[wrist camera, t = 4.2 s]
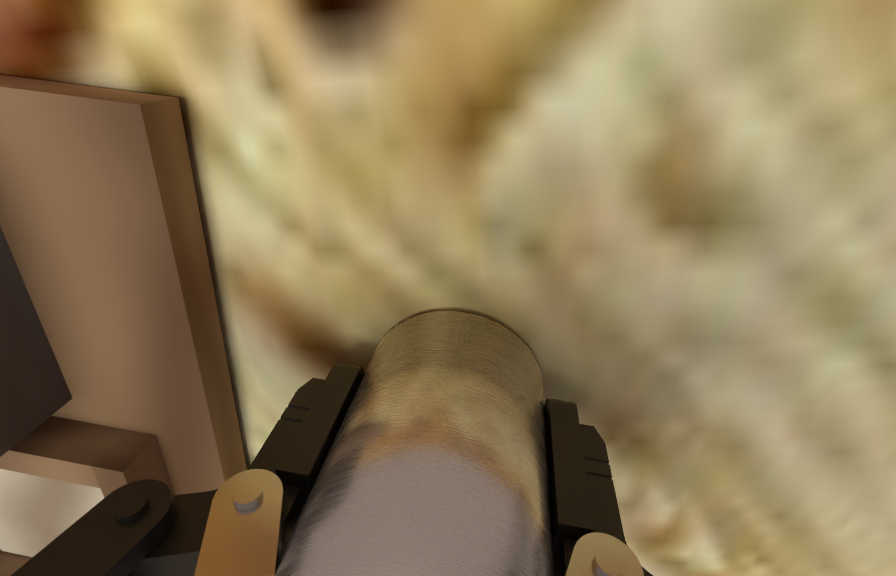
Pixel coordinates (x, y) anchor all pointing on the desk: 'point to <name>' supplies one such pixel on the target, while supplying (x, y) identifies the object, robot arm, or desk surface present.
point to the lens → (434, 462)
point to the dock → (102, 311)
